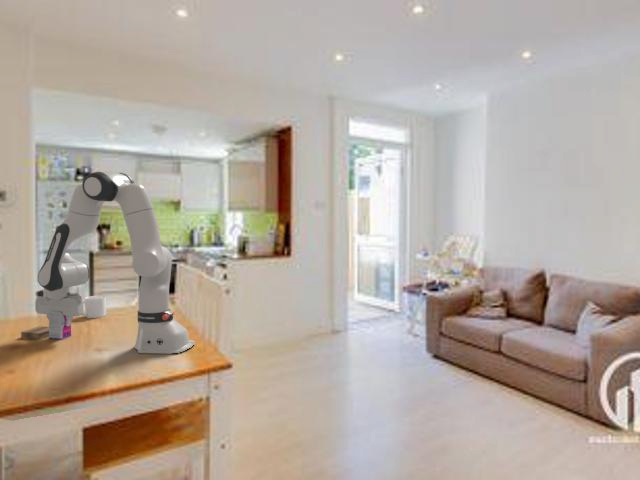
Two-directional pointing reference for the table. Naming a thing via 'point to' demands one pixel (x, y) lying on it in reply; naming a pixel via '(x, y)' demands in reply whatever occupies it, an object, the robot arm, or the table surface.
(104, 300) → the mug
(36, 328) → the base slab
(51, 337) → the supplement box
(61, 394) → the table surface
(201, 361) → the table surface
